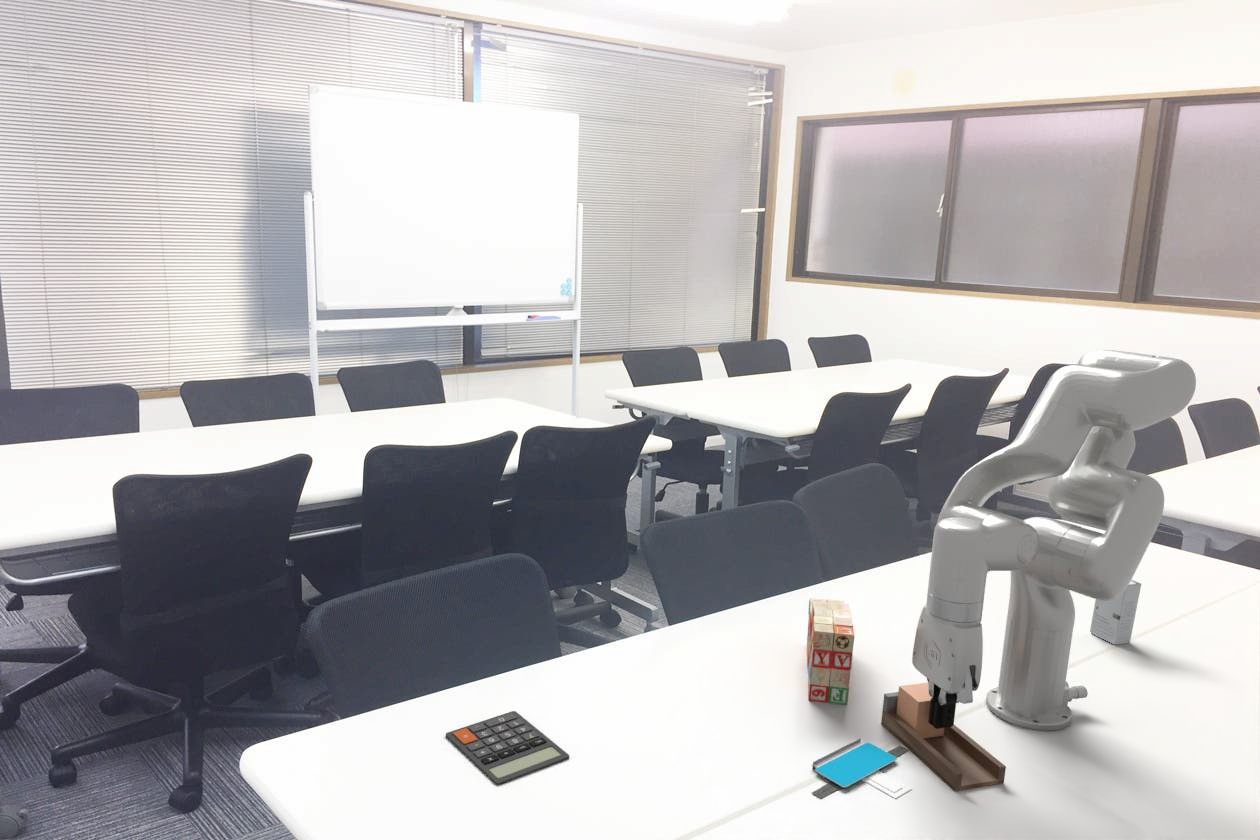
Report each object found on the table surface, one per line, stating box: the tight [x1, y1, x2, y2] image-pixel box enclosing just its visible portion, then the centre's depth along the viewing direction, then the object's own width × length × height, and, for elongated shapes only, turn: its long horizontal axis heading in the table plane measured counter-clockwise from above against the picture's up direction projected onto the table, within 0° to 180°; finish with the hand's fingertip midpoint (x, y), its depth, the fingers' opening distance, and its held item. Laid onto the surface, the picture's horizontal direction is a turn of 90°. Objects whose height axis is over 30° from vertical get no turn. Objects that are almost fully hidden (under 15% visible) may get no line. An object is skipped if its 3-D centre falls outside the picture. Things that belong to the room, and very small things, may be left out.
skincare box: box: [1089, 578, 1142, 645], centre depth 176 cm, size 6×4×12 cm
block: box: [896, 682, 944, 738], centre depth 139 cm, size 5×5×6 cm
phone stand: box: [810, 738, 912, 800], centre depth 129 cm, size 20×12×2 cm, turn 130°
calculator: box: [445, 710, 570, 786], centre depth 132 cm, size 12×1×15 cm
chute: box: [880, 691, 1007, 792], centre depth 135 cm, size 8×18×5 cm, turn 17°
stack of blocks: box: [806, 597, 856, 706], centre depth 157 cm, size 21×6×12 cm, turn 171°
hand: (940, 724), depth 135 cm, fingers closed
